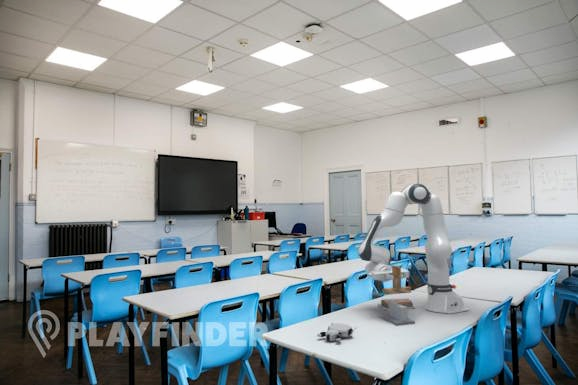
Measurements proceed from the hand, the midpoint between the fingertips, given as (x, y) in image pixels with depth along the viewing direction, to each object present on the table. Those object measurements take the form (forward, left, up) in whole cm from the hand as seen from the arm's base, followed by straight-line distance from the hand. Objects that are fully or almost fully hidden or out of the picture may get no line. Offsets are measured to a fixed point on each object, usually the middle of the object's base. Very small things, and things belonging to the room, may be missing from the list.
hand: (397, 277), depth 194 cm
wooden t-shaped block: (0, -1, -8) cm, 8 cm away
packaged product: (-13, -25, -22) cm, 36 cm away
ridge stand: (0, -1, -22) cm, 22 cm away
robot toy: (+39, +14, -22) cm, 47 cm away
